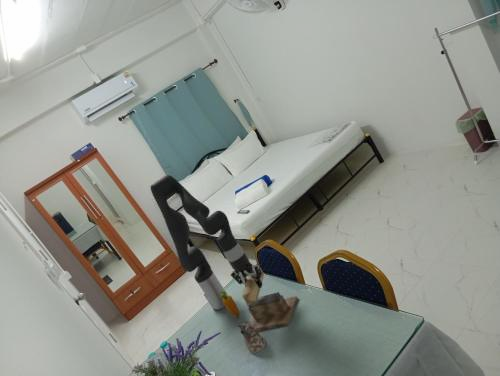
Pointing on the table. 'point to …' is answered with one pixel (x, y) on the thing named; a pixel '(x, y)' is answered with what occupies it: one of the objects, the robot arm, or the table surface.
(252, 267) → the robot arm
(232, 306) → the carrot
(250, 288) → the oak batten
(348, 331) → the table surface
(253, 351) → the figurine
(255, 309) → the ridge stand
